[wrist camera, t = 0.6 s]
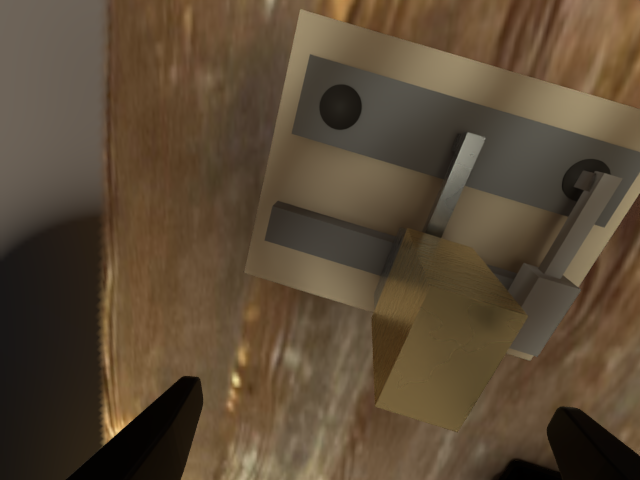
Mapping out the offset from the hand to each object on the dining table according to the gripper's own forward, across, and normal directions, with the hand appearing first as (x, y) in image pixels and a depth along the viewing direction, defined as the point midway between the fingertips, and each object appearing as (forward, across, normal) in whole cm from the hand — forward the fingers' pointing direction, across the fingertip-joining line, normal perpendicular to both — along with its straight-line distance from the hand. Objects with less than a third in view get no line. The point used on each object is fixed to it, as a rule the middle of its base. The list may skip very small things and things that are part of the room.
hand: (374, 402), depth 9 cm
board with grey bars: (+12, -4, -1) cm, 13 cm away
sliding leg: (+10, -4, -1) cm, 11 cm away
